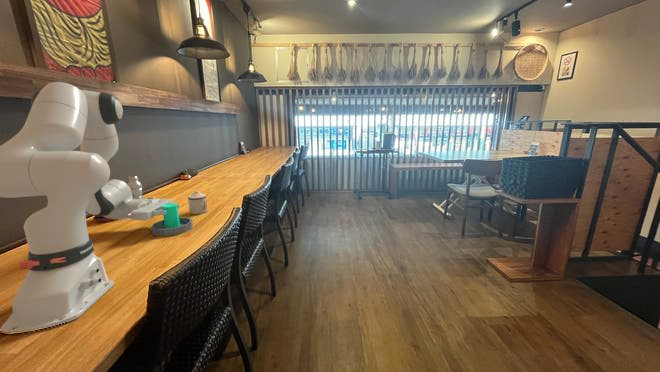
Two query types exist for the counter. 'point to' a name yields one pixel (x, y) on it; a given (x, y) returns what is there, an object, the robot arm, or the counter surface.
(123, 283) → the counter surface
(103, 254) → the counter surface
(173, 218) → the candle
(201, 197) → the teacup with lid
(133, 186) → the plastic bottle
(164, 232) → the dish
